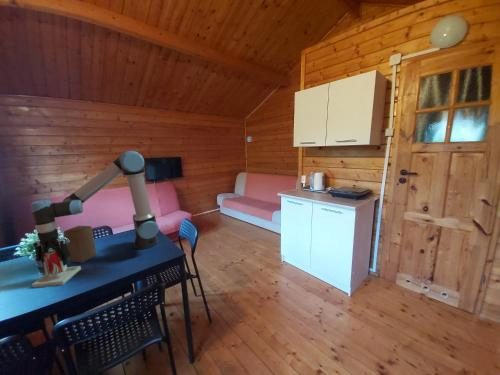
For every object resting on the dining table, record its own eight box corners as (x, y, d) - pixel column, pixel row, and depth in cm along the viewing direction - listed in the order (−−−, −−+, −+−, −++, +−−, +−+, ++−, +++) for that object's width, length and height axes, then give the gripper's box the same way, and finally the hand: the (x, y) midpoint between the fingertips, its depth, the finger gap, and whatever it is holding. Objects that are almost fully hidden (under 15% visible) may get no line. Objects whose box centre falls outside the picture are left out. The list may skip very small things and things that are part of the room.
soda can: (61, 274, 111) (56, 253, 109) (44, 277, 109) (39, 255, 107) (68, 267, 118) (63, 247, 115) (52, 269, 116) (47, 249, 113)
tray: (81, 269, 122) (80, 265, 121) (63, 284, 108) (62, 281, 108) (54, 271, 120) (53, 268, 120) (32, 288, 107) (31, 284, 106)
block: (82, 263, 128) (76, 232, 124) (69, 262, 130) (62, 231, 126) (97, 255, 138) (92, 225, 134) (84, 254, 140) (78, 224, 136)
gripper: (73, 226, 114) (81, 265, 118) (31, 229, 111) (41, 269, 116) (63, 231, 106) (72, 273, 111) (18, 235, 104) (29, 277, 109)
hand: (56, 271), depth 113 cm, fingers closed on soda can, 7 cm apart
